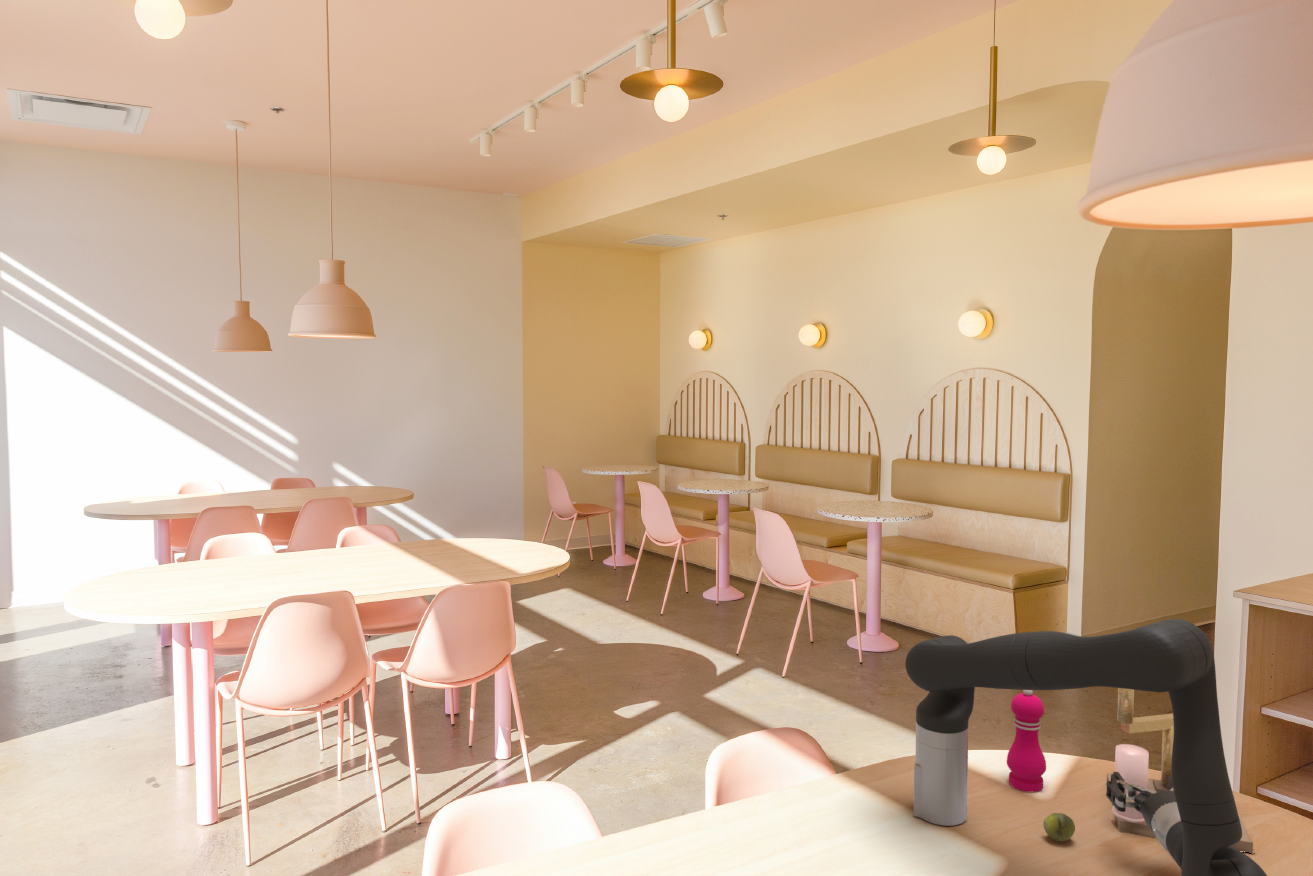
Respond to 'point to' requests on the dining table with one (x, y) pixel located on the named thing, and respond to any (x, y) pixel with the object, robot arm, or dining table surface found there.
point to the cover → (1131, 775)
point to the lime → (1059, 826)
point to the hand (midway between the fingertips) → (1141, 779)
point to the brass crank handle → (1147, 727)
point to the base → (1144, 830)
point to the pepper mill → (1026, 744)
